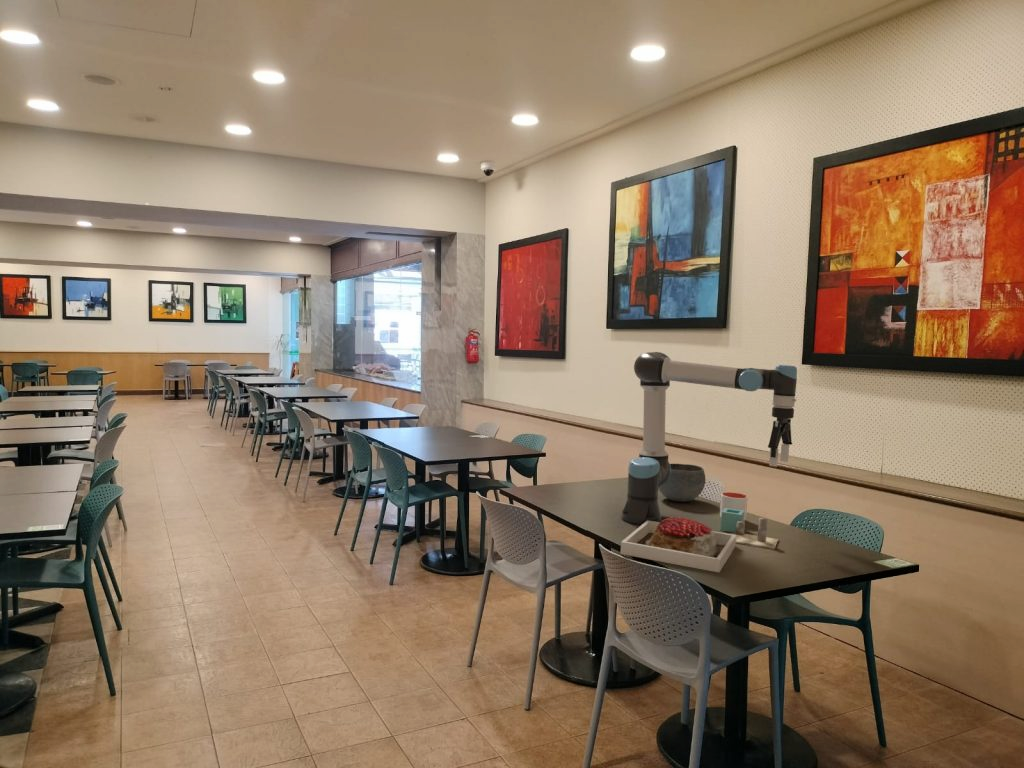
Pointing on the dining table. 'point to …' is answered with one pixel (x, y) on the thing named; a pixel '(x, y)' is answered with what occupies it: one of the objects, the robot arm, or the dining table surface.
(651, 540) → the cake
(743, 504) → the cup
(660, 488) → the bowl
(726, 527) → the mint green cube
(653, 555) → the cake tray
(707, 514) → the dining table surface
